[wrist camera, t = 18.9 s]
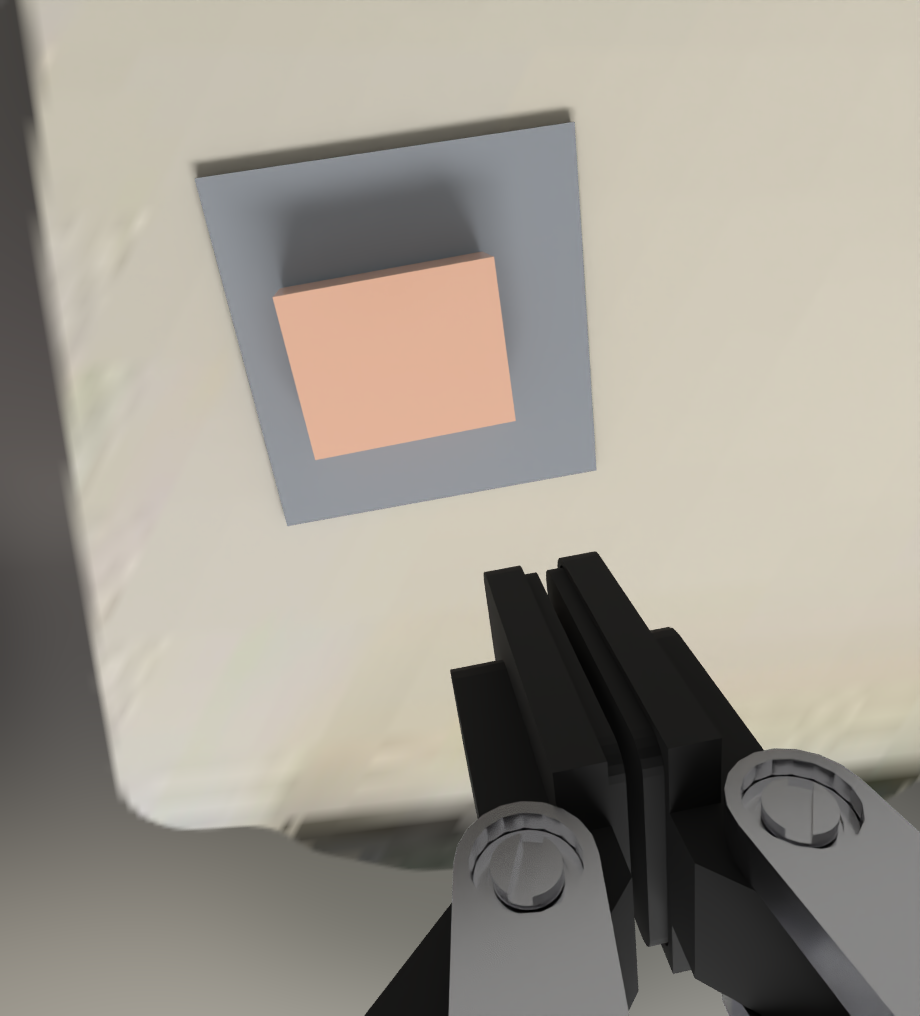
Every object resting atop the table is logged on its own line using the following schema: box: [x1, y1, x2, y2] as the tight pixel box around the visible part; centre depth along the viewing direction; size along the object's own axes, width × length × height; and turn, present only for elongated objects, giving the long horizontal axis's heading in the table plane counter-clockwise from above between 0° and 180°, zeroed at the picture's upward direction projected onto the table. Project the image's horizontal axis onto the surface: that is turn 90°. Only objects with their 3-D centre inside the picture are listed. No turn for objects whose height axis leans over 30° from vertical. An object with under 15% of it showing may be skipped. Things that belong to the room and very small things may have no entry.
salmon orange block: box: [273, 252, 516, 460], centre depth 31 cm, size 3×7×9 cm
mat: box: [195, 122, 596, 526], centre depth 33 cm, size 16×16×1 cm
